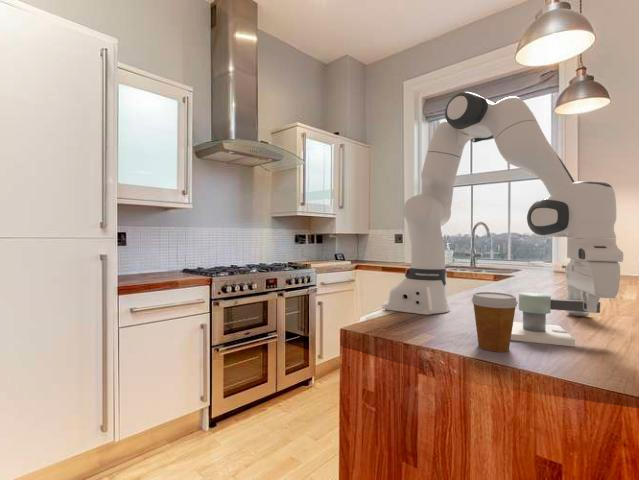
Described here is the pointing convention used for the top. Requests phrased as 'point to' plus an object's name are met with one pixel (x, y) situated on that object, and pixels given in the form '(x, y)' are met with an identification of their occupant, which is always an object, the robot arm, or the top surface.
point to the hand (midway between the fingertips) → (589, 311)
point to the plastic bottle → (573, 295)
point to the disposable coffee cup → (494, 319)
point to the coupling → (548, 304)
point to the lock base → (540, 331)
